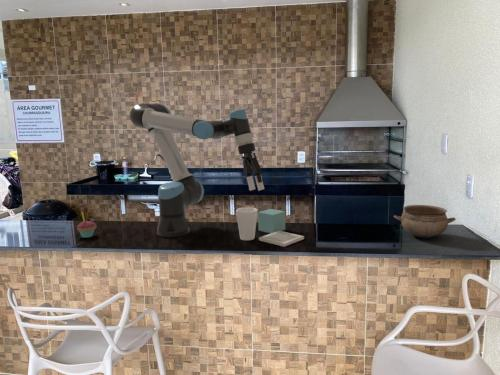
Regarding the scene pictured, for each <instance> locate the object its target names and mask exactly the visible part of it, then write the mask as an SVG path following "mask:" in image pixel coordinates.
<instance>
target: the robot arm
mask: <svg viewBox="0 0 500 375" xmlns="http://www.w3.org/2000/svg"><path fill="white" fill-rule="evenodd" d="M228 116H229V117H227V118H224V119H221V120H203V119H199V118H194V117H193V118H192V117H188V116H182V115H176V114H173V113H172V114H171V110H170V109H169V108H168V107H167V106H166V105H164V104H161V103H157V102H156V103H140V102H139V103H137V104H135V105H134V106H132V108H131V109H130V110H129V119H130V122H131V123H132V125H134V126H135V127H136V128H140V129H141V128H142V129H147V132H148V134H149V135H150V136H153V137H154V141H156V144H157V146H158V150H159V151H160V153H161V155H162V158H163V160H164V162H165V165H166V167H167V169H168V172H169V174H170V177H171V179H172V181H171V182H165V183H162V184H161V185H159V187H158V189H157V190H158V193H157V196H158V207H159V220H158V222H157V228H156V235H157V236H159V237H162V238H175V237H176V238H178V237H182V236H186V235H188V234H189V233H190V226H189V223H188V220H187V218H186V212H185V209H186V208H187V207H190V206H193V205H196V204H197V203H199V202H200V201H201V200H202V199H203V197H204V194H205V189H204V186H203V183H202V182H200V181H199V180H197V179H196V178H195V176H194V174H192V173H190V172H189V170H188V168H187V165H186V162H185V161H184V158H183V156H182V154H181V152H180V149H179V148H178V145H177V142H176V140H175V138H174V135H173V134H172V132H174V133H179V134H183V135H188V136H192V137H196V138H197V139H199V140H209V139H212V140H217V139H221V138H224V137H229V136H230V135H231V136H232V135H234V139H235V143H236V146H237V150H238V153H239V155H242V156H241V159H242V165H243V166H242V167H243V175H244V177H246V182H247V184H248V190H249V191H250V192H251V191H254V190H256V187H257V190H258V192H259V191H262V190H265V186H264V182H263V177H262V173H263V170H262V167H261V165H260V163H259V161H258V158H257V155H256V153H255V151H256V146H255V143H254V139H253V137H254V135H253V134H252V132H251V126H250V122H249V117H248V114H247V111H246V110H245V109H243V108H242V109H241V108H239V109H235V110H233V111H230V112H229V115H228ZM252 172H253V173H252ZM254 178H255V181H254ZM255 182H256V185H255Z"/></svg>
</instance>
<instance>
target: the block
mask: <svg viewBox="0 0 500 375" xmlns="http://www.w3.org/2000/svg"><path fill="white" fill-rule="evenodd" d="M257 219H258V220H257V222H258V231H259V232H260V231H261V232H264V233H266V234H267V233H268V234H271V233H274V232H277V231H283V232H284V231H285V230H286V211H284V210H280V209H275V208H274V209H273V208H268V209H265V210H262V211H258V215H257Z"/></svg>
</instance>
